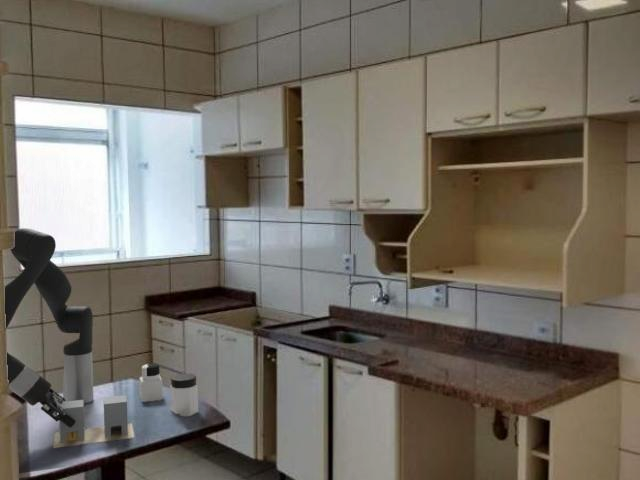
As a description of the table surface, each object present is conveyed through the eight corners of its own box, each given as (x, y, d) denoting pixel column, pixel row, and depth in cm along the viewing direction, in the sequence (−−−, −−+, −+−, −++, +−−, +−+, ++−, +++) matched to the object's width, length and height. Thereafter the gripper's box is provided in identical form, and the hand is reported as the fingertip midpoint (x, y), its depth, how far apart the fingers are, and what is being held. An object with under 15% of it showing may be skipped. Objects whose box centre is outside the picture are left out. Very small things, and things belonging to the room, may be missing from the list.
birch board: (53, 451, 178) (53, 447, 178) (55, 435, 189) (55, 432, 189) (134, 440, 185) (134, 437, 185) (132, 426, 196) (132, 423, 196)
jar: (199, 407, 213) (198, 372, 212) (196, 416, 205) (196, 380, 204) (172, 408, 212) (171, 373, 211) (168, 417, 204) (168, 381, 203)
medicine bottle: (160, 394, 228) (159, 361, 227) (162, 400, 221) (162, 366, 220) (139, 396, 225) (139, 363, 225) (141, 402, 219) (141, 368, 218)
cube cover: (60, 443, 181) (59, 409, 180) (61, 435, 187) (60, 402, 186) (84, 440, 183) (83, 406, 182) (84, 432, 189) (83, 399, 188)
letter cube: (65, 441, 182) (64, 427, 182) (65, 436, 186) (65, 422, 186) (79, 439, 184) (79, 426, 183) (80, 434, 187) (79, 421, 187)
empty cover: (104, 437, 185) (103, 404, 184) (104, 429, 191) (103, 397, 190) (127, 434, 187) (126, 401, 186) (126, 427, 193) (125, 395, 192)
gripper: (37, 382, 174) (82, 417, 179) (41, 368, 187) (83, 402, 192) (16, 403, 172) (63, 438, 177) (21, 388, 186) (65, 421, 191)
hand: (73, 419), depth 185 cm, fingers open, 8 cm apart
